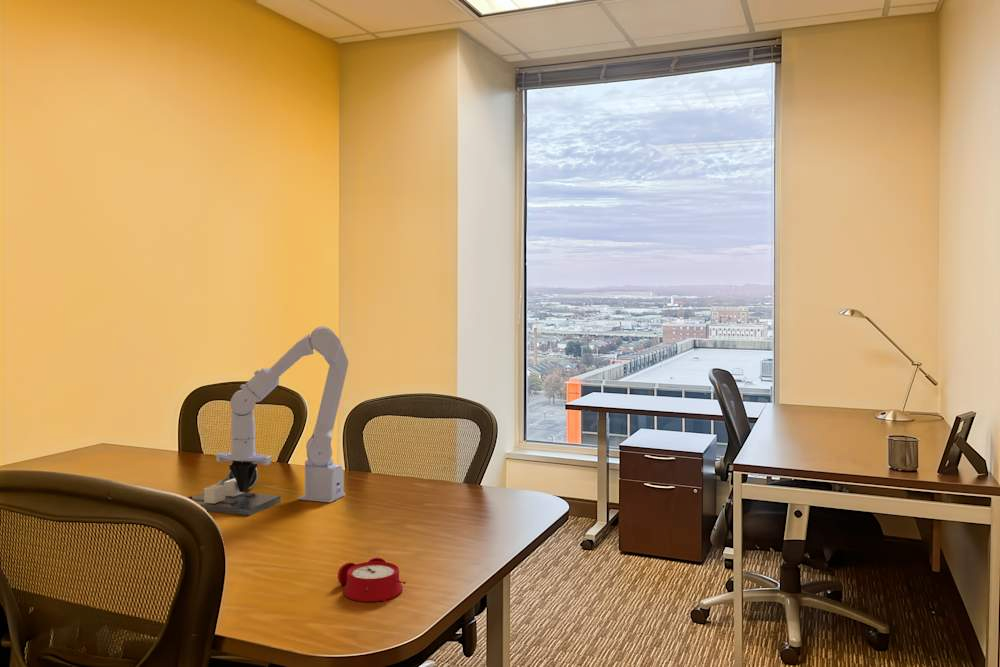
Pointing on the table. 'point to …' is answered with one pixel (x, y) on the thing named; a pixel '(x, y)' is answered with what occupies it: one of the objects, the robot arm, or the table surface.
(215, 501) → the block
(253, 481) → the ceramic mug
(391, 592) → the alarm clock
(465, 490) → the table surface
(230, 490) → the fader
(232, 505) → the console
